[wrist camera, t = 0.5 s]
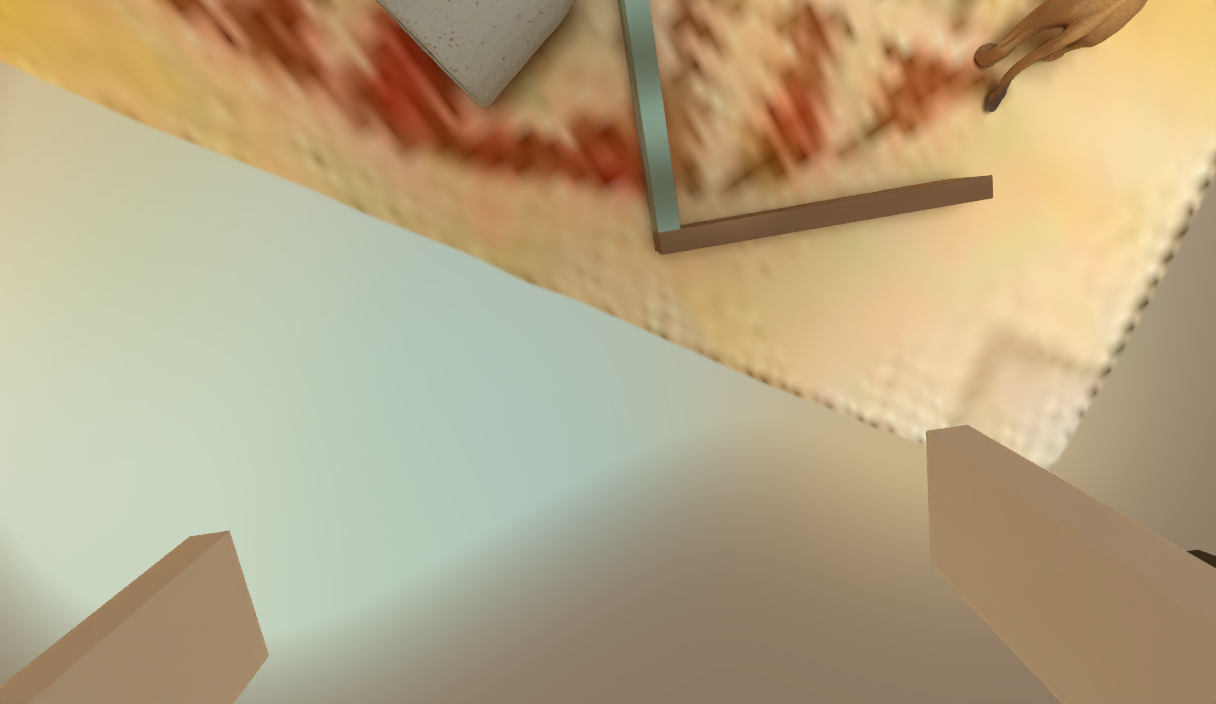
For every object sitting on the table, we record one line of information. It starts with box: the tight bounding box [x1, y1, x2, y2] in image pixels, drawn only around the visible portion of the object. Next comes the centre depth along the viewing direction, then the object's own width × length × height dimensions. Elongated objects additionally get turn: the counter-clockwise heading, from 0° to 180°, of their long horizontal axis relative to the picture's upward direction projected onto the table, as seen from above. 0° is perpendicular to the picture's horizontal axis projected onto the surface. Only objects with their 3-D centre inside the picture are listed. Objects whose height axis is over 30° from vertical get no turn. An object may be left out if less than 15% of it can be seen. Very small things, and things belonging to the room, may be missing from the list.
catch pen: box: [618, 0, 993, 255], centre depth 33 cm, size 20×18×4 cm
